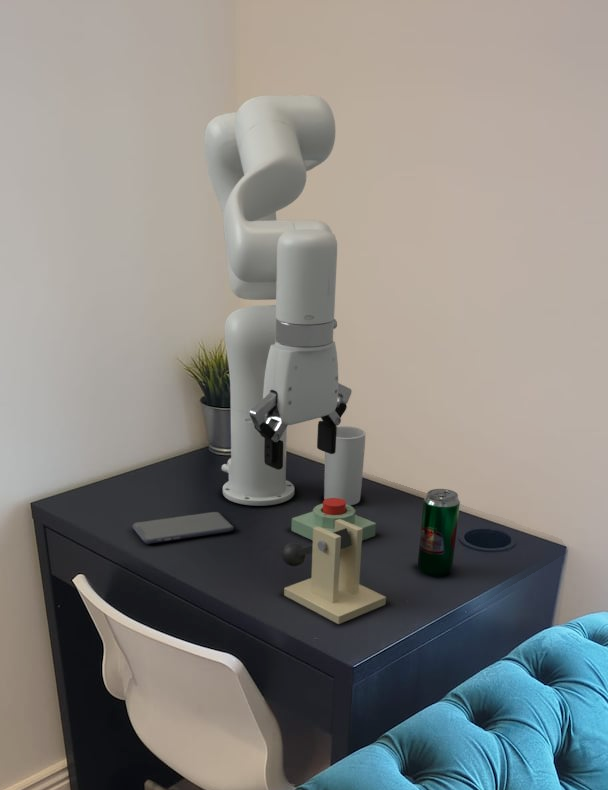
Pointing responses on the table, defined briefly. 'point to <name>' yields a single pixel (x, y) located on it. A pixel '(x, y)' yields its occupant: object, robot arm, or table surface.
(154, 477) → the table surface
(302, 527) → the control block
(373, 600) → the lever bracket
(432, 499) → the soda can
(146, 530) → the smartphone
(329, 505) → the button
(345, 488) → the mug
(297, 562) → the ball knob handle
